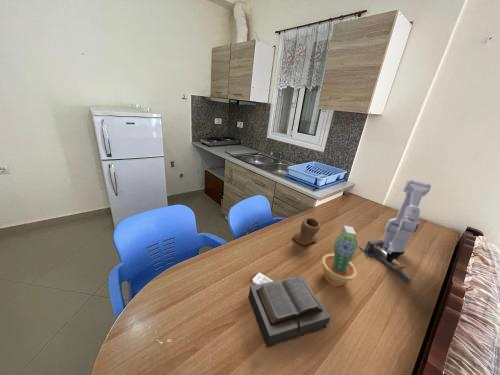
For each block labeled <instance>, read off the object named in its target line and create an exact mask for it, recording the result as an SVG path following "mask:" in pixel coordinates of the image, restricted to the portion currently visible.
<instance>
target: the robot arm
mask: <svg viewBox="0 0 500 375" xmlns="http://www.w3.org/2000/svg"><path fill="white" fill-rule="evenodd" d="M431 188H432V185H431V183H428V182H423V181H419V180H415V179H412V178H409V179H407V181H406V182H405V185H404V188H403V192H404V193H405V197H404V199H403V201H402V202H401V205H400V208H399V210H398V213H397V215H396V216H395V217H394V218H389V219H388V221H387V222H386V225H385V228H384V231H385V234H384V236H383V237H382V239H381V240H382V241H383V242H385V243H384V245H383V247H384V248H385V252H387V257H386V261H388V262H389V263H391V262H392V261H393V259H395V260H396V261H397V259H398V258H399V257H400V256H402V254H405V249H406V247H407V246H408V243H409V241H410V239H411V237H412V236H413V234H415V233H417V231H418V229H419V227H420V220H419V217H420V213H421V210H420V208H419V205H420V203H421V200H422V198H423V197H425V196H426V195H428V194H429V192H430V190H431ZM383 247H382V248H383Z"/></svg>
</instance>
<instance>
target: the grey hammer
mask: <svg viewBox="0 0 500 375" xmlns="http://www.w3.org/2000/svg"><path fill="white" fill-rule="evenodd" d="M382 240H383V239H380V240H368V241H367V243H366V245H361V246H359V247H358V248H359V250H361V251H362V252H363V253H364V254H365V255H366V256H367V257H369V258H372V257H377V258H378V260H380V261H381V262H382V263H383V264H385V266H387V268H389V269H390V270H391V271H392V272H393V273H395V275H396V276H398V277H399V278H400V280H403V282H404V283H406V284H409V283H410V282H411V281H412V277H411V276H409V275H408V274H407V273H406V272H405V271H404V270H403V269H399V270H396V269H395V268H394V267H393V266H394V264H393V263H389V262H388V261H386V257H384V256H383V255H382V254H381V253H380V252H379V251H377V250H376V249H375V248H374V245H376V244H377V245H378V246H379V247H380V248H382V249H383V245H384V243H385V242H383V241H382Z"/></svg>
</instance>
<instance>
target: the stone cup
mask: <svg viewBox="0 0 500 375" xmlns="http://www.w3.org/2000/svg"><path fill="white" fill-rule="evenodd" d="M320 227H321V224H320V221H319V220H318V219H316V218H314V217H306V218H304V219H303V221H302V222H301V225H300V231H299V232H296V233H295V234H293V236H292V237H293V239H294V240H295V241H296V242H297V243H299V244H300V245H302V246H306V245H309V244H312V243H314V242H317V241H318V240H319V239H318V237H317V235H316V234H318V232H319V231H320Z"/></svg>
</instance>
